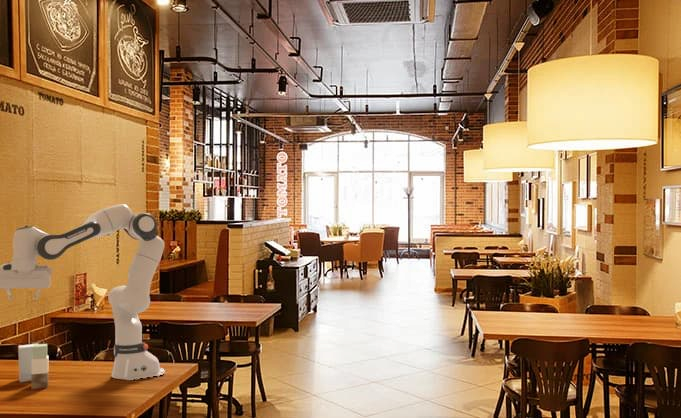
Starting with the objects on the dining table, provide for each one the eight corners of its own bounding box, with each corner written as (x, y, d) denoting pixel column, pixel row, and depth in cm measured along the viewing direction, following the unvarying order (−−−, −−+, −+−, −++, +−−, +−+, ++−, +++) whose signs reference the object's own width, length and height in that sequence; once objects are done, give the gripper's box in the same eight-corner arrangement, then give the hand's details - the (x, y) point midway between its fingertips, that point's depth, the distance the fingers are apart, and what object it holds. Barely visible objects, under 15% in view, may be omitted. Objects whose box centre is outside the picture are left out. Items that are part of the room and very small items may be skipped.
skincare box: (39, 377, 280) (39, 342, 280) (40, 380, 275) (40, 345, 275) (17, 379, 276) (18, 344, 276) (18, 382, 271) (18, 347, 271)
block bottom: (48, 384, 269) (48, 369, 269) (47, 387, 263) (47, 373, 263) (32, 385, 267) (32, 370, 267) (31, 389, 261) (31, 374, 261)
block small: (47, 355, 268) (47, 343, 268) (46, 358, 264) (46, 346, 264) (34, 356, 266) (34, 344, 266) (33, 359, 262) (33, 346, 262)
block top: (48, 369, 269) (48, 355, 269) (47, 373, 263) (47, 358, 263) (32, 370, 267) (32, 356, 267) (31, 374, 261) (31, 359, 261)
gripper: (52, 264, 272) (51, 297, 272) (-3, 265, 265) (-4, 298, 264) (51, 265, 266) (50, 299, 266) (-5, 266, 259) (-6, 300, 259)
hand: (23, 299), depth 265 cm, fingers open, 8 cm apart
